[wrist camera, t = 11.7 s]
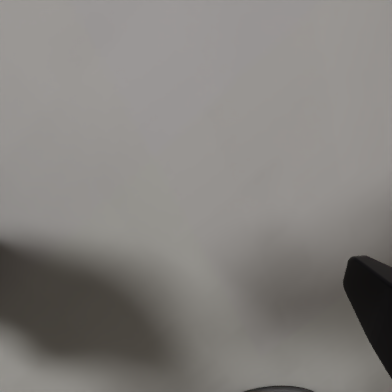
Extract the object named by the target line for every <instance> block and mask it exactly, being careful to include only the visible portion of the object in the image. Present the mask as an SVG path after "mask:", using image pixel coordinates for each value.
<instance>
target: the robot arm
mask: <svg viewBox="0 0 392 392" xmlns="http://www.w3.org/2000/svg"><path fill="white" fill-rule="evenodd" d="M343 286H344V290H345V292H346V294H347V296H348V298H349V300H350V302H351V305H352V307H353V309H354V311H355V313H356V315H357V317H358V319H359V321H360V324H361V326H362V328H363V330H364V332H365V334H366V336H367V338H368V340H369V342H370V343H371V345H372V347H373V349H374V350H375V352H376V354H377V355H378V357H379V359H380V360H381V362H382V364H383V365H384V367H385V369H386V370H387V372H388V374H389V375H390V377H391V379H392V267H390V266H388V265H386V264H383V263H381V262H379V261H377V260H375V259H373V258H370V257H368V256H353V257H351V258H350V259H349V260H348V264H347V268H346V272H345V276H344V280H343Z"/></svg>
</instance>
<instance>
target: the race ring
mask: <svg viewBox="0 0 392 392" xmlns="http://www.w3.org/2000/svg"><path fill="white" fill-rule="evenodd" d="M246 392H313V391H310V390H307V389H304V388H299V387H291V386H272V387H263V388H258V389H253V390H249V391H246Z"/></svg>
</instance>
